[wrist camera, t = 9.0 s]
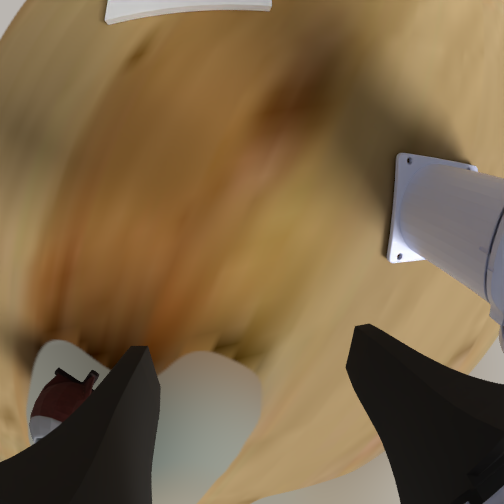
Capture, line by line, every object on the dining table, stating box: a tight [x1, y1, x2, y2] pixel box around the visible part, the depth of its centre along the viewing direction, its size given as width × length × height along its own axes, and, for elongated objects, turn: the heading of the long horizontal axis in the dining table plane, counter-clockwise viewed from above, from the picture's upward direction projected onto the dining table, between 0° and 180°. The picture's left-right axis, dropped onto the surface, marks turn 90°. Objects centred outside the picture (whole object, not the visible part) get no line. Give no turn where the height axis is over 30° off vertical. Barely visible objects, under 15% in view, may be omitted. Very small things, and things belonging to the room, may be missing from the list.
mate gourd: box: [29, 368, 99, 443], centre depth 14 cm, size 8×8×15 cm
